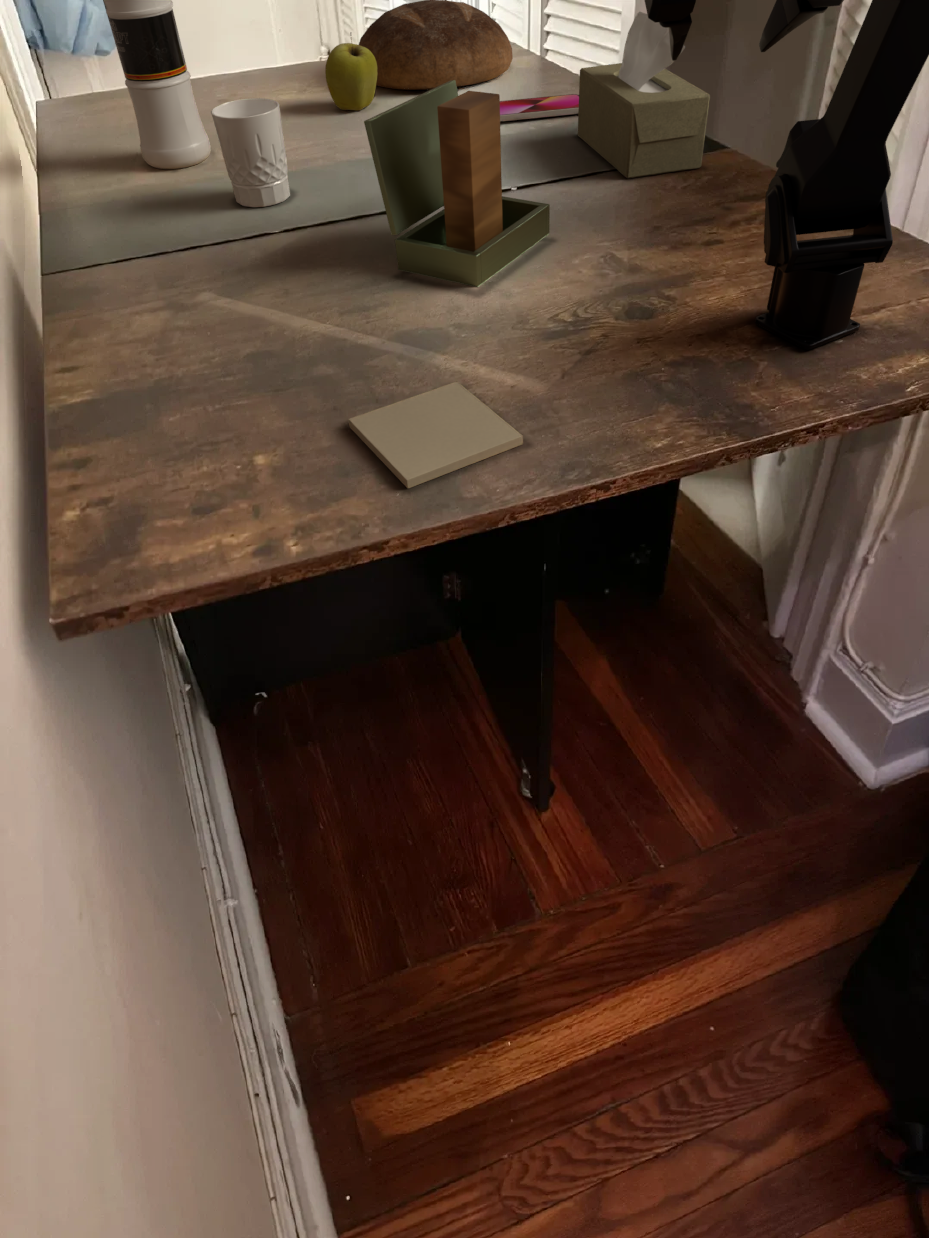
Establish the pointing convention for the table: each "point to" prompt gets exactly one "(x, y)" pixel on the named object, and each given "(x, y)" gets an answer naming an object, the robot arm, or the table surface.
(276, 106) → the white cup
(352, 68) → the apple
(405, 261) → the green box
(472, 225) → the wooden block
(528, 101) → the smartphone
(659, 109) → the tissue box
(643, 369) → the table surface
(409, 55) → the bread
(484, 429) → the tile
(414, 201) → the flat green panel
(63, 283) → the table surface
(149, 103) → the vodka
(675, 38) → the robot arm
